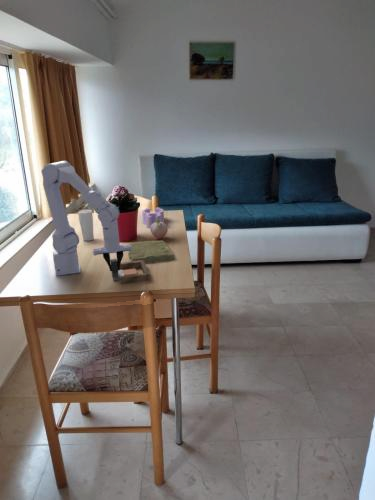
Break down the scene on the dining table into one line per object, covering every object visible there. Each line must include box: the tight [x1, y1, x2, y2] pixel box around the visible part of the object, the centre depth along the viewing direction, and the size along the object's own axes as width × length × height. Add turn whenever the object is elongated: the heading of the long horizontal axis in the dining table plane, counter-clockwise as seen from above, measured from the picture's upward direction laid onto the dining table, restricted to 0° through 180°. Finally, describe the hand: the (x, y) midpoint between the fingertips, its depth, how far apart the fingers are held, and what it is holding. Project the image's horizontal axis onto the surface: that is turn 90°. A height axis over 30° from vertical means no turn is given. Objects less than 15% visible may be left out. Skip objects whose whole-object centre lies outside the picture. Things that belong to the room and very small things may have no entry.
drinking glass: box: [77, 209, 95, 242], centre depth 187 cm, size 7×7×15 cm
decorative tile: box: [127, 239, 174, 264], centre depth 168 cm, size 19×20×4 cm
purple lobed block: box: [141, 207, 165, 229], centre depth 213 cm, size 20×12×7 cm, turn 7°
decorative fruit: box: [149, 220, 168, 240], centre depth 186 cm, size 9×8×10 cm
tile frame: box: [120, 260, 151, 285], centre depth 148 cm, size 11×15×2 cm
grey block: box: [110, 258, 124, 282], centre depth 145 cm, size 4×8×7 cm, turn 15°
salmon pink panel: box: [123, 268, 138, 276], centre depth 148 cm, size 5×5×2 cm
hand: (114, 269), depth 145 cm, fingers closed on grey block, 2 cm apart
